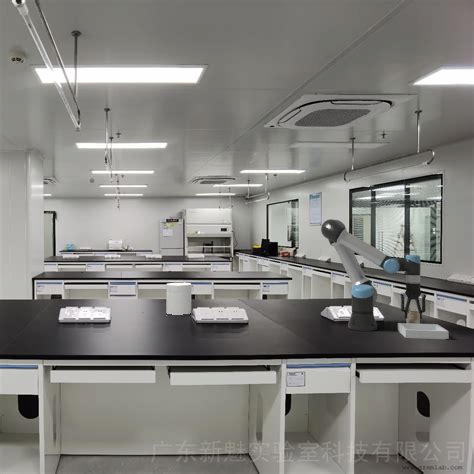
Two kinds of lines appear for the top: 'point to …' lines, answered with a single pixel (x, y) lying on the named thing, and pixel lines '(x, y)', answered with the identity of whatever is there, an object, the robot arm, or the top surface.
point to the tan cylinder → (413, 317)
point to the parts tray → (423, 331)
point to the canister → (178, 298)
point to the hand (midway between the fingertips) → (413, 324)
